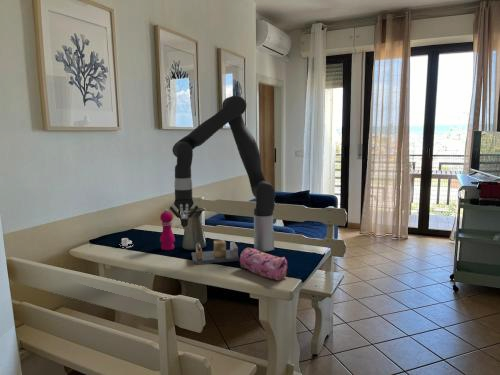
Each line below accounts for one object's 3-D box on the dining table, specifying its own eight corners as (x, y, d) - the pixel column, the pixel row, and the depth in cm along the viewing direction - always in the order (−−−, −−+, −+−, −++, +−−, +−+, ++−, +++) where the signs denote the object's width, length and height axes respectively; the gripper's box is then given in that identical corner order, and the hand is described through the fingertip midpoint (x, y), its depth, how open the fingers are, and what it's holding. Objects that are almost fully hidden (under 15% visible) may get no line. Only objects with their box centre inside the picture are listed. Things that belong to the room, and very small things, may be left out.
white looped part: (128, 242, 194) (127, 235, 193) (137, 245, 189) (137, 237, 189) (113, 247, 187) (113, 239, 186) (123, 249, 182) (122, 242, 182)
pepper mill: (171, 250, 179) (170, 210, 176) (157, 250, 180) (156, 210, 177) (177, 246, 186) (176, 207, 183) (164, 245, 187) (162, 207, 184)
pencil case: (291, 277, 146) (291, 255, 144) (276, 284, 139) (276, 261, 138) (251, 264, 160) (251, 244, 159) (236, 270, 154) (236, 249, 152)
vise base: (234, 252, 176) (233, 241, 175) (238, 260, 164) (238, 248, 163) (191, 255, 172) (191, 244, 171) (193, 264, 160) (192, 252, 159)
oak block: (224, 252, 171) (224, 240, 170) (226, 255, 166) (225, 243, 165) (213, 253, 170) (213, 240, 169) (215, 256, 165) (214, 243, 164)
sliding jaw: (200, 251, 171) (200, 241, 171) (202, 259, 162) (202, 248, 161) (196, 252, 171) (195, 241, 170) (197, 259, 161) (197, 248, 160)
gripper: (167, 189, 155) (169, 229, 158) (199, 188, 158) (200, 228, 161) (167, 187, 163) (169, 225, 165) (198, 186, 165) (198, 223, 168)
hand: (184, 226), depth 163 cm, fingers closed
